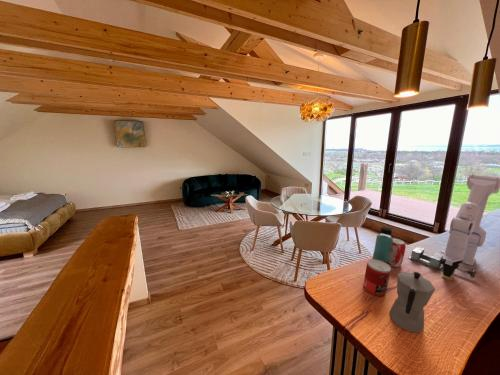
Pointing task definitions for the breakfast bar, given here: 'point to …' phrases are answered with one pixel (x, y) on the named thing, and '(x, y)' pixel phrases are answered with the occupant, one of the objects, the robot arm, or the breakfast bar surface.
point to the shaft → (472, 273)
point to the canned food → (376, 277)
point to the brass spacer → (448, 277)
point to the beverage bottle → (383, 245)
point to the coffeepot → (411, 301)
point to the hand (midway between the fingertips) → (448, 273)
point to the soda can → (397, 252)
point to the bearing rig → (426, 258)
